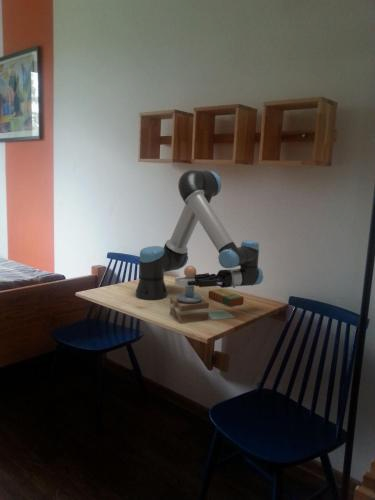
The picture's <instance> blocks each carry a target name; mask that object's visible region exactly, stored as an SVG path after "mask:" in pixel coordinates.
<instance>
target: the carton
mask: <svg viewBox="0 0 375 500" xmlns="http://www.w3.org/2000/svg"><path fill="white" fill-rule="evenodd" d="M244 298H245V297H244V296H242V295H239V294H237V293H234V292H231V291H228V290H226V289H223V288H217V289H211V290H209V291H208V299H209V300H212V301H215V302H217V303H219V304H221V305H224V306H226V307H229V308H232V307H237V306H238V307H239V306H242V304H243V305H244V301H245V299H244Z"/></svg>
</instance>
